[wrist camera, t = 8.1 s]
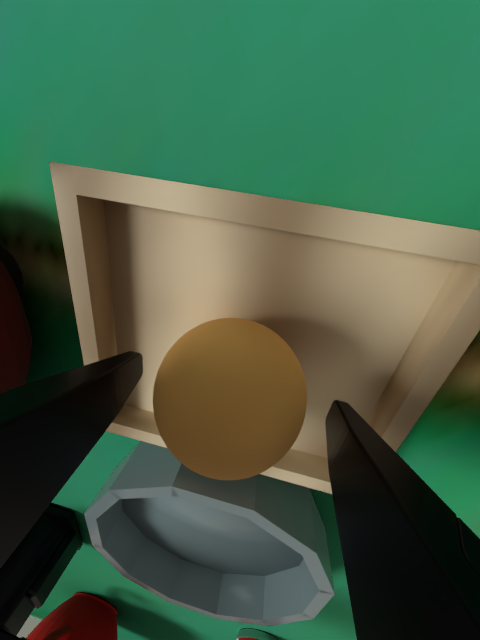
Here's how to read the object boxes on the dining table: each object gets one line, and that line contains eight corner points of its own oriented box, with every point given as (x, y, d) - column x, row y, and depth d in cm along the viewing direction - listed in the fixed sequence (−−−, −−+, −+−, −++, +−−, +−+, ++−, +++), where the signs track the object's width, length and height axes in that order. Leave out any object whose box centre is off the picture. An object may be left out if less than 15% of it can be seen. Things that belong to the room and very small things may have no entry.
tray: (119, 401, 14) (94, 427, 12) (97, 174, 9) (48, 161, 7) (349, 461, 12) (361, 502, 11) (477, 236, 7) (541, 240, 6)
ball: (186, 383, 11) (120, 491, 7) (192, 287, 9) (103, 350, 5) (285, 407, 11) (287, 542, 6) (315, 313, 9) (353, 410, 4)
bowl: (124, 532, 21) (100, 578, 18) (109, 411, 14) (68, 455, 12) (289, 585, 19) (291, 644, 17) (356, 478, 13) (376, 546, 10)
